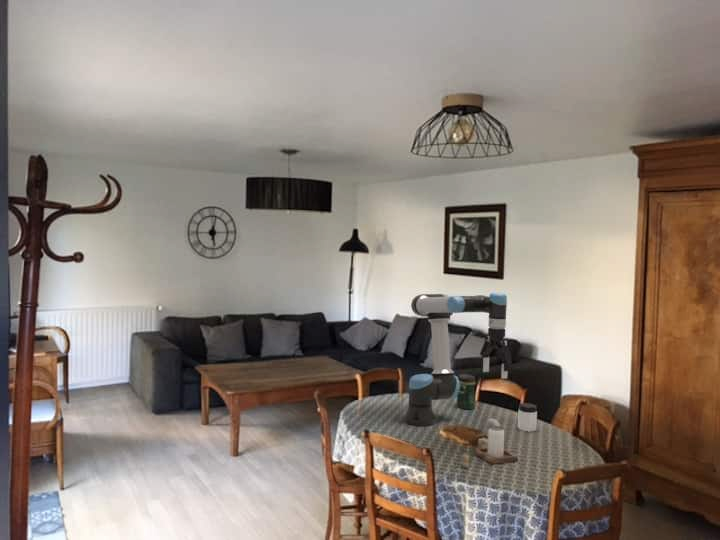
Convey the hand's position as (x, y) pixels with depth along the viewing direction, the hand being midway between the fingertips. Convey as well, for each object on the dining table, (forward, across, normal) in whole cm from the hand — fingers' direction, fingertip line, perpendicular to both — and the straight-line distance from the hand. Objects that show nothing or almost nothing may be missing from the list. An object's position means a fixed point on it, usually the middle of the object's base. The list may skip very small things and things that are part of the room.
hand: (494, 375), depth 253 cm
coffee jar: (+32, -56, +23) cm, 68 cm away
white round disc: (+32, -5, +4) cm, 33 cm away
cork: (+32, +18, -26) cm, 45 cm away
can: (+31, +14, -8) cm, 35 cm away
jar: (+32, -14, +31) cm, 47 cm away
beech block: (+32, +3, -6) cm, 32 cm away
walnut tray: (+32, +14, -8) cm, 35 cm away
